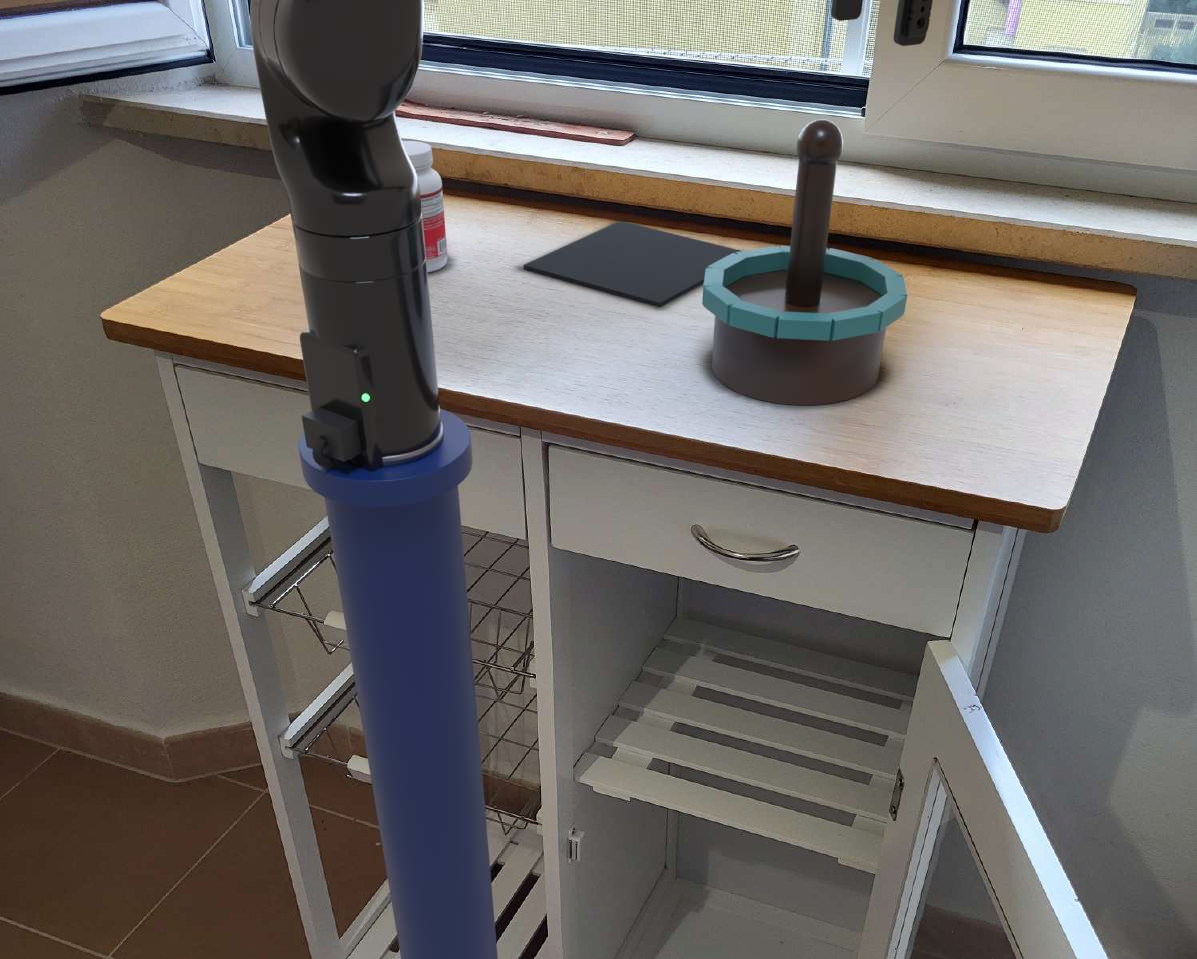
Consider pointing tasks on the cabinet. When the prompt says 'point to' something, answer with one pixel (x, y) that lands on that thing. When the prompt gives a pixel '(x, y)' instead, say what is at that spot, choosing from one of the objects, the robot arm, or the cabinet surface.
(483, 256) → the cabinet surface
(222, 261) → the cabinet surface
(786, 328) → the hoop
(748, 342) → the peg stand
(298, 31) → the robot arm
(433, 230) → the pill bottle
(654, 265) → the mat
